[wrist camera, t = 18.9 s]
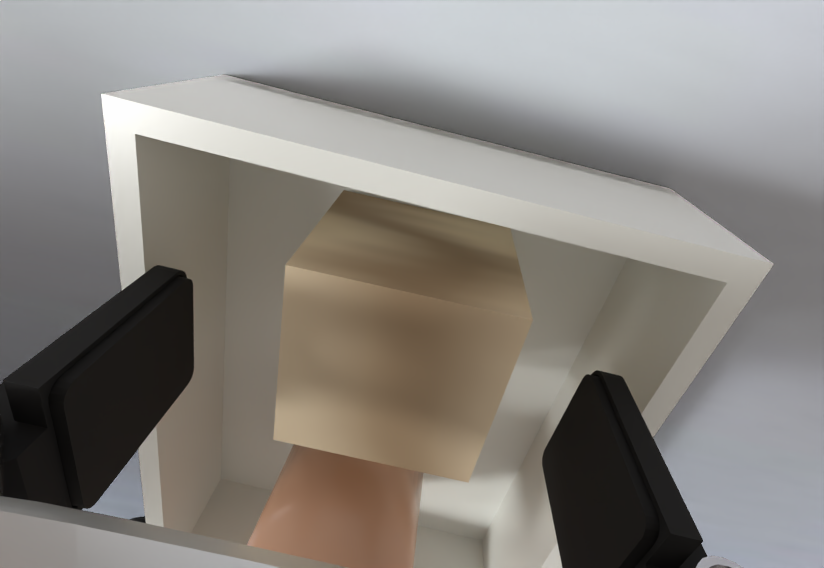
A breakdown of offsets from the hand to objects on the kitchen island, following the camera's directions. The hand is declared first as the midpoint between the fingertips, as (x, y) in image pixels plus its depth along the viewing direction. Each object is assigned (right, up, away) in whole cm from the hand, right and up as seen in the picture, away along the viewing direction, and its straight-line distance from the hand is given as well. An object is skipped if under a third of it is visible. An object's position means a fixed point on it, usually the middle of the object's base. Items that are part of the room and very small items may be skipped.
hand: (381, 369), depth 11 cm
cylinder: (-1, -4, +7) cm, 9 cm away
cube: (+1, +2, +4) cm, 4 cm away
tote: (0, -1, +6) cm, 7 cm away
